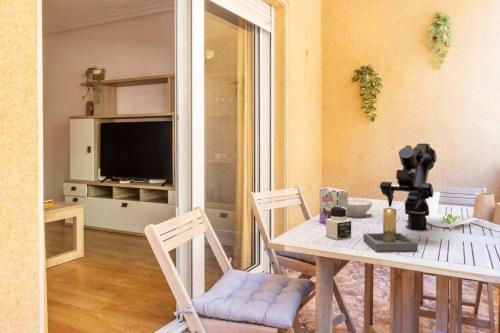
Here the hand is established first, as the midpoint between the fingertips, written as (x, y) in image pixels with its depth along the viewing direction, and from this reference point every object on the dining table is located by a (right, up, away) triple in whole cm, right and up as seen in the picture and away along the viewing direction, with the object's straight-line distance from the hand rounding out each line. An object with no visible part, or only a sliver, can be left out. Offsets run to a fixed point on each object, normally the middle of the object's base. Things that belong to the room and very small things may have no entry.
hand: (402, 207), depth 146 cm
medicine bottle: (-22, -13, +10) cm, 27 cm away
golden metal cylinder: (-6, -13, -4) cm, 15 cm away
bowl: (-4, -10, +51) cm, 52 cm away
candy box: (-19, -11, +32) cm, 39 cm away
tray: (-6, -14, -4) cm, 16 cm away
